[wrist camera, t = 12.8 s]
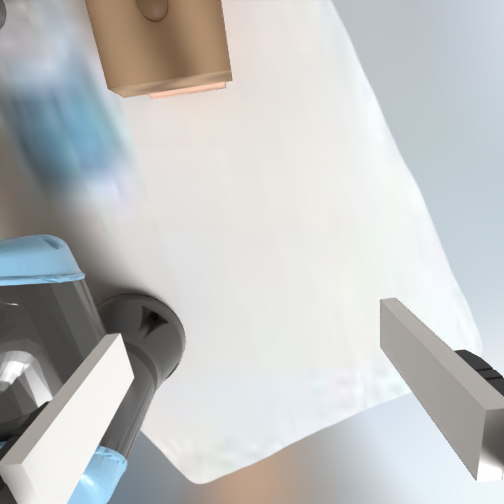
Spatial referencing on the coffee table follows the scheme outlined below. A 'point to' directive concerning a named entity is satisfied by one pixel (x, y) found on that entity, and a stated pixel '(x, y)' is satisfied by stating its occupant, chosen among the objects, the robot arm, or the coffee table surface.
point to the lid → (160, 44)
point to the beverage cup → (2, 14)
